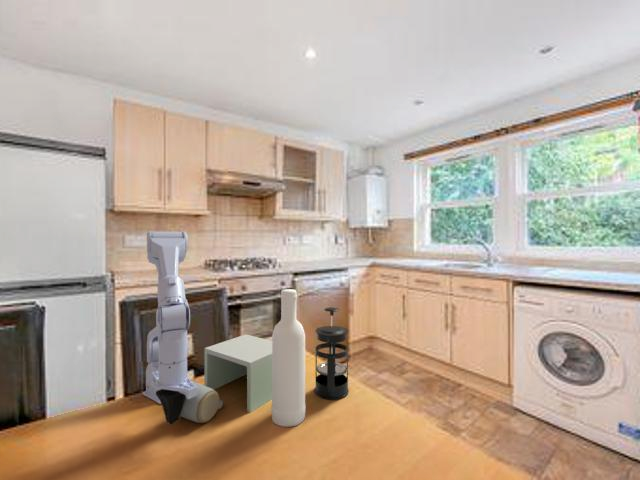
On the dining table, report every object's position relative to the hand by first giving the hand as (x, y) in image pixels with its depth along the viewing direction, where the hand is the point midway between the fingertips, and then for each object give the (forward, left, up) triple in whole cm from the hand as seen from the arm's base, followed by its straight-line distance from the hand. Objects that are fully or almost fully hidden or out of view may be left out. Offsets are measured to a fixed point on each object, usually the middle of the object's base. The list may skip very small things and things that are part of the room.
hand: (173, 421), depth 68 cm
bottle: (+18, +18, -2) cm, 25 cm away
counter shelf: (0, +22, -2) cm, 22 cm away
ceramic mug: (0, +7, -2) cm, 7 cm away
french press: (+20, +34, -2) cm, 39 cm away
